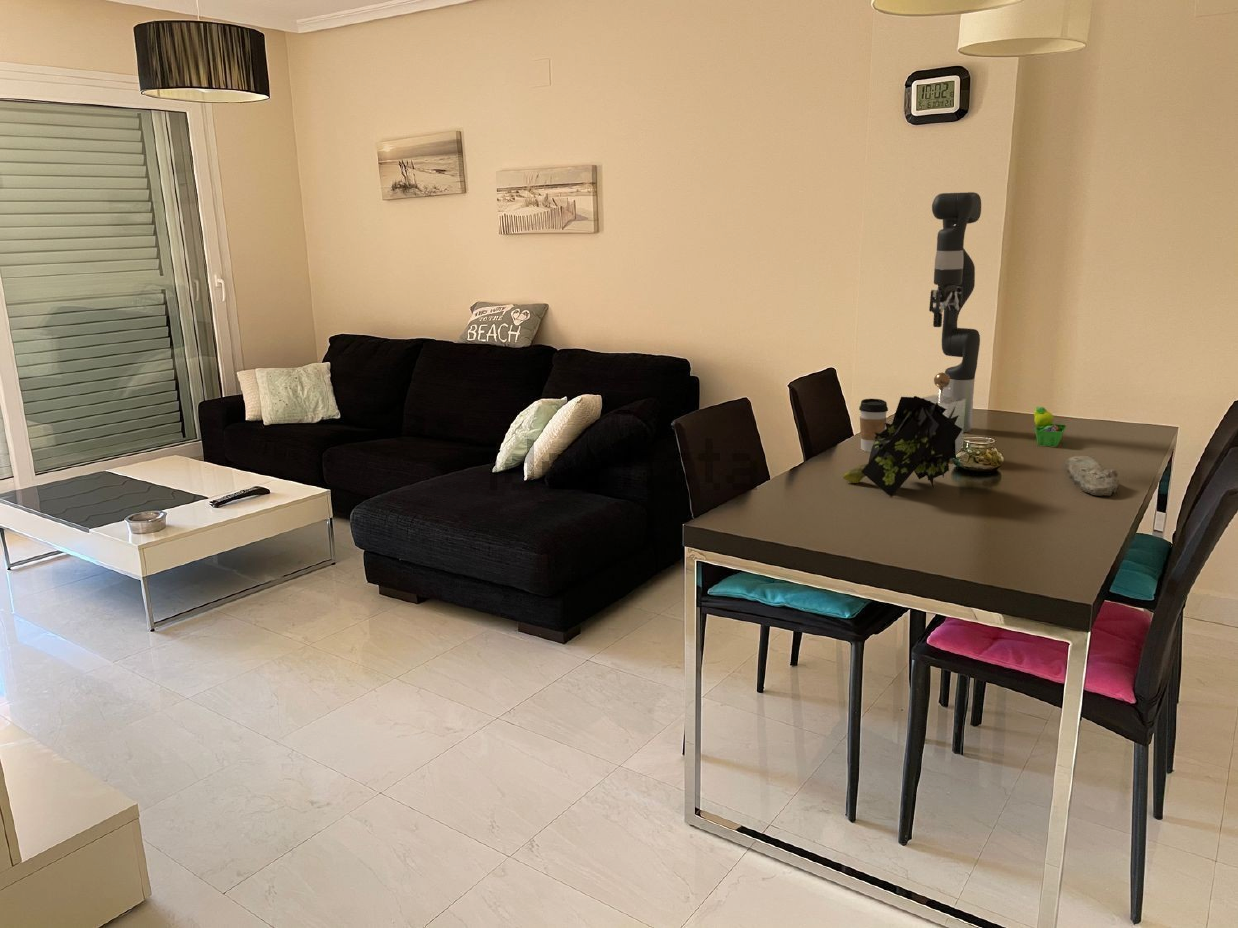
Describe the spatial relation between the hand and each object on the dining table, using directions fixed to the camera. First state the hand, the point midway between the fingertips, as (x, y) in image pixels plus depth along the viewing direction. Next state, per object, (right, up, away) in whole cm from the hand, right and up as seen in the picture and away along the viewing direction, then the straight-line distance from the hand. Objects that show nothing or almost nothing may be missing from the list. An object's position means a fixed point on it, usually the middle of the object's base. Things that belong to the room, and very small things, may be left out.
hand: (944, 325), depth 260 cm
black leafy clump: (-20, -46, -24) cm, 56 cm away
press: (0, -37, +7) cm, 38 cm away
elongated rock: (+31, -44, -19) cm, 57 cm away
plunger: (0, -35, +6) cm, 35 cm away
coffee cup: (-16, -35, +16) cm, 42 cm away
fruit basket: (+39, -33, +21) cm, 56 cm away
